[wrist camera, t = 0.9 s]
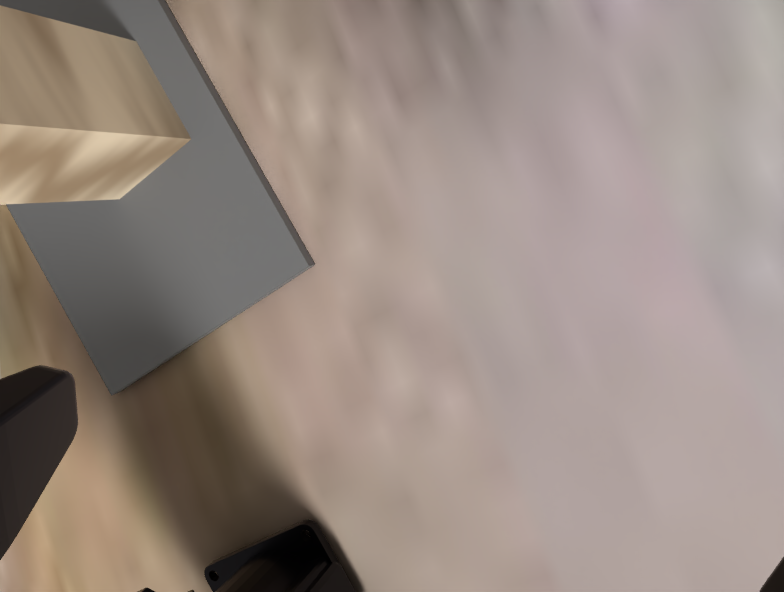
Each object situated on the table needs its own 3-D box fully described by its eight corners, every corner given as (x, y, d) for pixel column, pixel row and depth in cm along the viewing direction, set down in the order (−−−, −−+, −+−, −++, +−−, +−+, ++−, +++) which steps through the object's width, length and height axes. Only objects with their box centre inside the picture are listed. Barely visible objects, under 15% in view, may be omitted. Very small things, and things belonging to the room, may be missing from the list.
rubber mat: (119, 392, 30) (111, 395, 30) (-87, 19, 31) (-98, 16, 30) (315, 264, 25) (308, 266, 25) (66, -173, 26) (56, -179, 26)
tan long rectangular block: (119, 199, 28) (-144, 211, 18) (67, 107, 28) (-219, 73, 19) (191, 139, 26) (-60, 119, 17) (136, 41, 26) (-144, -33, 17)
